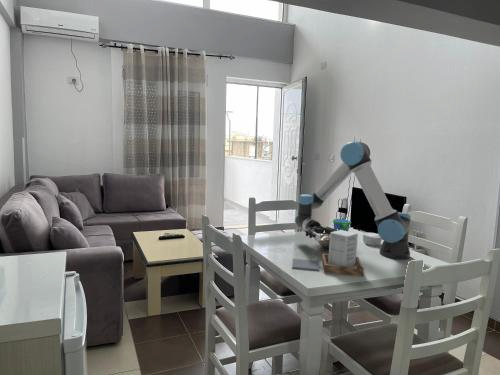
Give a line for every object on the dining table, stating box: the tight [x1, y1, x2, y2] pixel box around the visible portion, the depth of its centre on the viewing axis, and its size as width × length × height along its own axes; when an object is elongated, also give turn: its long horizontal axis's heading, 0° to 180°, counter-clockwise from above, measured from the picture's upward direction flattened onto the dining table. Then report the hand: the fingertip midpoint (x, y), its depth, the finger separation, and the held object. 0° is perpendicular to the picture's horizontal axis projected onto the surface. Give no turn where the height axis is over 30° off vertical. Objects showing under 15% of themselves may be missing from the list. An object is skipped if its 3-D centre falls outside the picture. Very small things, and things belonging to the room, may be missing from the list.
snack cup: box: [332, 218, 352, 232], centre depth 232 cm, size 16×10×10 cm
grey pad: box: [291, 258, 320, 272], centre depth 176 cm, size 12×12×1 cm
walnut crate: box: [321, 253, 365, 277], centre depth 174 cm, size 17×17×4 cm
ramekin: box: [362, 232, 383, 246], centre depth 221 cm, size 11×11×5 cm
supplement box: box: [327, 230, 359, 267], centre depth 174 cm, size 10×9×17 cm
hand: (332, 237), depth 182 cm, fingers open, 13 cm apart
